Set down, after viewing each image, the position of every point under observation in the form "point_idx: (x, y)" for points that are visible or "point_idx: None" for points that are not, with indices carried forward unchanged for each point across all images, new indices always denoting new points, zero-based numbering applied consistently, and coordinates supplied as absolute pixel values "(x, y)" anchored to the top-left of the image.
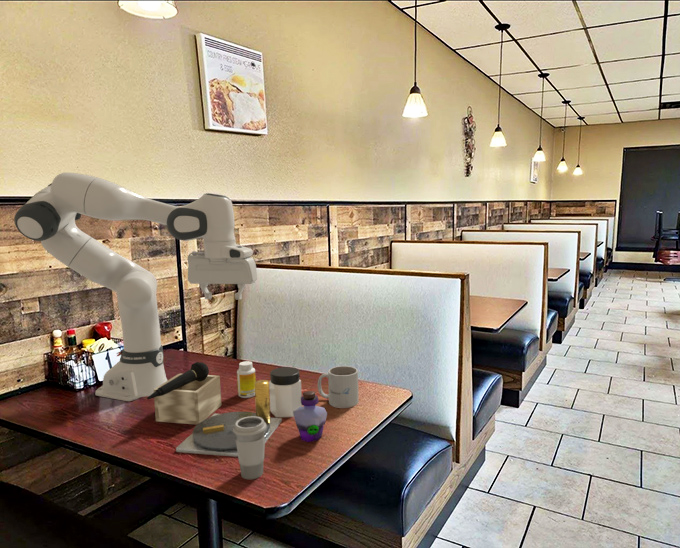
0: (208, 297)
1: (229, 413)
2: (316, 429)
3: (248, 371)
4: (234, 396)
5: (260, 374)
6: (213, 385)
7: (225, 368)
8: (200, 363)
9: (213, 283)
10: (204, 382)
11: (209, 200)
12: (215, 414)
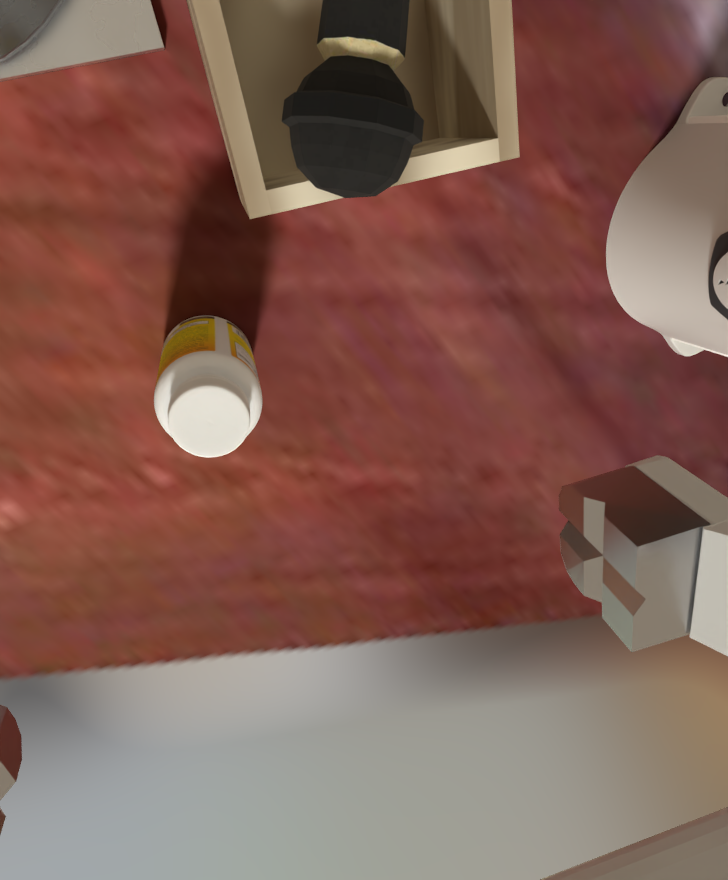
0: (595, 490)
1: (23, 12)
2: None
3: (168, 384)
4: (256, 319)
5: (316, 560)
6: (222, 118)
7: (496, 545)
8: (344, 118)
9: (652, 843)
10: None
11: None
12: (147, 35)
